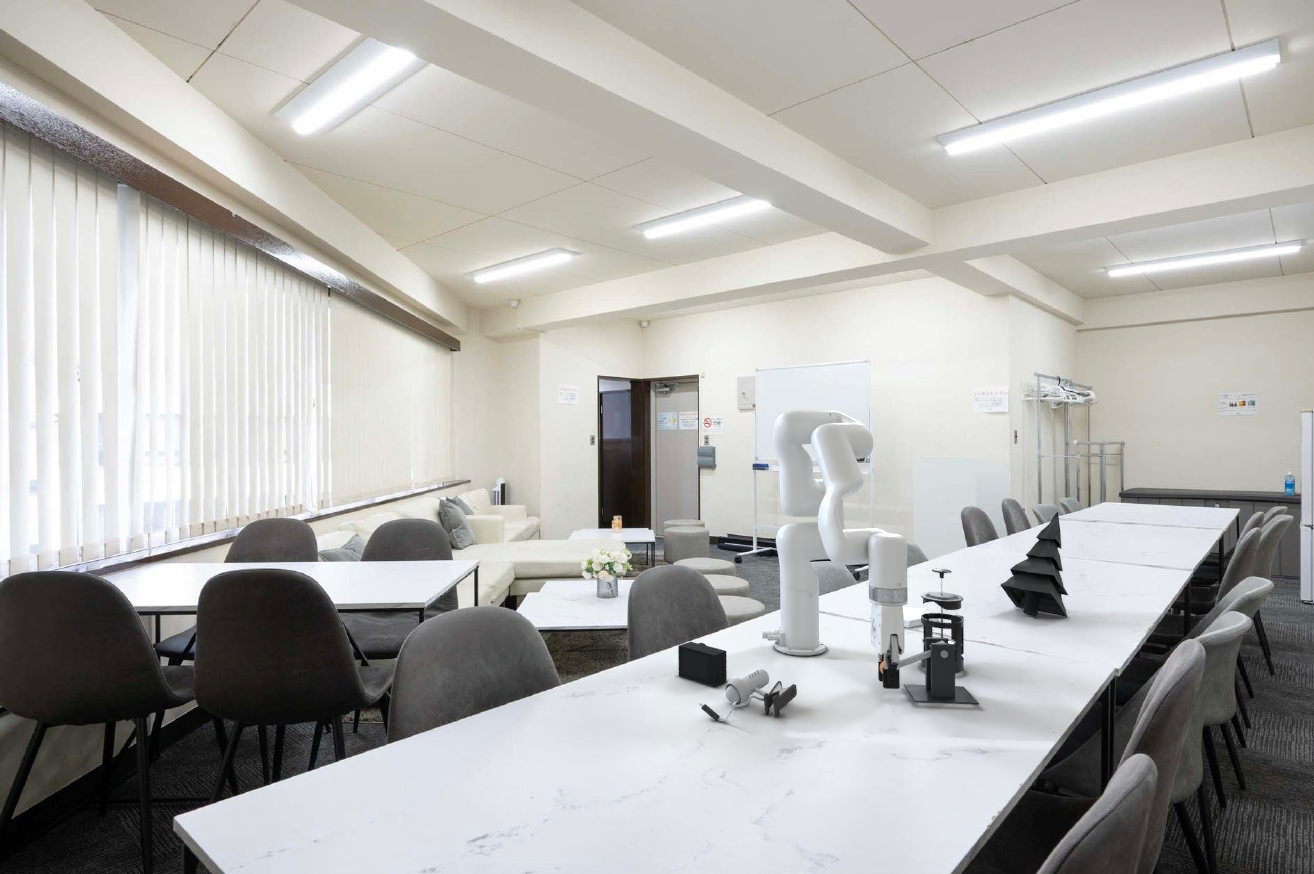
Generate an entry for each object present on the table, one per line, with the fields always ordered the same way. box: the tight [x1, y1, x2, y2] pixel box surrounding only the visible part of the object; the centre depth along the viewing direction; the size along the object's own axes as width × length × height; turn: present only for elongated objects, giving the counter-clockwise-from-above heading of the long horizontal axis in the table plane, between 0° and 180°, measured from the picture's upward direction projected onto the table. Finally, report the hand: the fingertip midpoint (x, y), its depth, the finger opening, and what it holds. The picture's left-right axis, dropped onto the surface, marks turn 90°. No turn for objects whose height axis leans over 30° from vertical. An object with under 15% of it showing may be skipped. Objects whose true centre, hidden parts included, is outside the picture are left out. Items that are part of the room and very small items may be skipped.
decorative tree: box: [999, 511, 1069, 618], centre depth 207 cm, size 15×15×35 cm
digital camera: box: [677, 641, 728, 688], centre depth 150 cm, size 10×5×7 cm, turn 47°
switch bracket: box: [903, 636, 980, 706], centre depth 138 cm, size 12×9×12 cm
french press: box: [920, 568, 965, 674], centre depth 155 cm, size 12×9×23 cm
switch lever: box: [880, 641, 945, 674], centre depth 139 cm, size 14×3×3 cm, turn 84°
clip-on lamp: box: [698, 668, 798, 722], centre depth 132 cm, size 12×6×18 cm
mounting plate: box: [903, 605, 939, 629], centre depth 199 cm, size 18×13×2 cm
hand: (888, 683), depth 139 cm, fingers closed on switch lever, 3 cm apart
